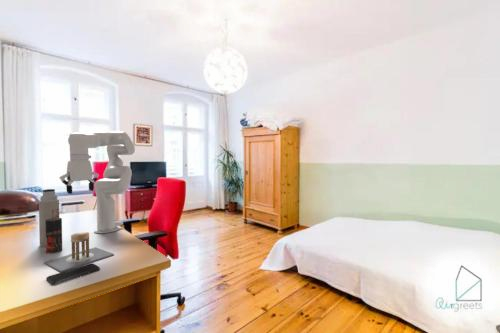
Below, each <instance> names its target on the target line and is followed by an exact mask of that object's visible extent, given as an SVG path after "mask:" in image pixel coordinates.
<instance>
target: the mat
mask: <svg viewBox="0 0 500 333" xmlns="http://www.w3.org/2000/svg"><path fill="white" fill-rule="evenodd" d="M114 255H115V253H113V252H110V251H107V250H104V249H102V248H99V247H92V248H89V257H86V249H85V255H83V256H82V250H80V251H79V260H76V252H75V258H72V253H71V254H67V255H64V256H60V257H57V258H53V259H49V260H45V261H43V263H44V264H45V265H46V266H48V267H50V268H52V269H53V270H56V271H58V272H59V273H61V272H64V271H68V270H71V269H75V268H78V267H81V266H85V265H88V264H93V263H94V262H98V261H101V260H103V259H106V258H107V259H108V258H110V257H113V256H114Z"/></svg>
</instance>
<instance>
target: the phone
mask: <svg viewBox="0 0 500 333" xmlns="http://www.w3.org/2000/svg"><path fill="white" fill-rule="evenodd" d="M100 270H101V268H100V266H98V265H96V264H95V263H88V264H85V265H82V266H79V267H76V268H73V269H70V270H67V271H64V272H59V273H54V274H52V275H48V276H46V281H47V282H48V283H49V284H50V285H51V286H56V285H60V284H62V283H66V282H68V280H69V281H71V279H72V280H74V278H75V279H78V278H80V276H81V277H83V276H84V277H85V276H87V275H90V274H92V273H96V272H99V271H100ZM77 277H78V278H77Z"/></svg>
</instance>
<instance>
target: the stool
mask: <svg viewBox="0 0 500 333" xmlns="http://www.w3.org/2000/svg"><path fill="white" fill-rule="evenodd" d="M70 242H71V254H72V258H75V253H76V260H79V252H80V243H81V251H82V256H83V255H85V250H86V257H89V249H90V232H88V231H83V232H82V231H81V232H75V233H73V234H71V235H70Z"/></svg>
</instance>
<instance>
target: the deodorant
mask: <svg viewBox="0 0 500 333" xmlns="http://www.w3.org/2000/svg"><path fill="white" fill-rule="evenodd" d="M45 221H46V247H45V253H46V254H48V255H49V254H55V253H60V252H62V251H63V219H62V217H59V218H52V219H47V220H45Z"/></svg>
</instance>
